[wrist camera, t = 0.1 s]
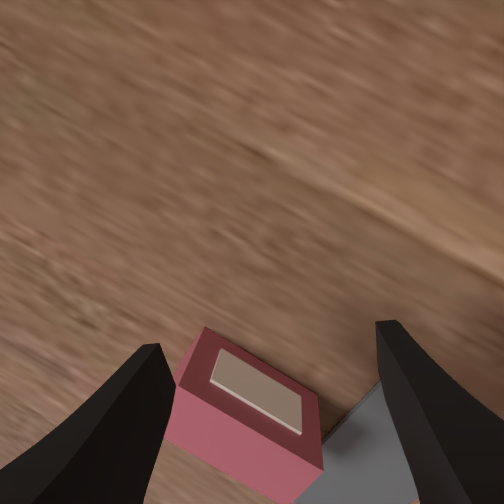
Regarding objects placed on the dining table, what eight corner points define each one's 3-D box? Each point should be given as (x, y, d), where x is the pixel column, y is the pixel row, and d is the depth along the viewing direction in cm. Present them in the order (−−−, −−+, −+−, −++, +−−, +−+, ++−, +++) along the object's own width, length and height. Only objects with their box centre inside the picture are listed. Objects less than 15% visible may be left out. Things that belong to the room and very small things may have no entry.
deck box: (288, 426, 26) (286, 508, 21) (180, 362, 26) (147, 428, 20) (319, 392, 25) (326, 469, 20) (206, 323, 24) (179, 383, 19)
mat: (362, 536, 29) (363, 542, 29) (276, 487, 28) (276, 492, 28) (496, 423, 24) (499, 428, 24) (398, 361, 24) (400, 365, 23)
